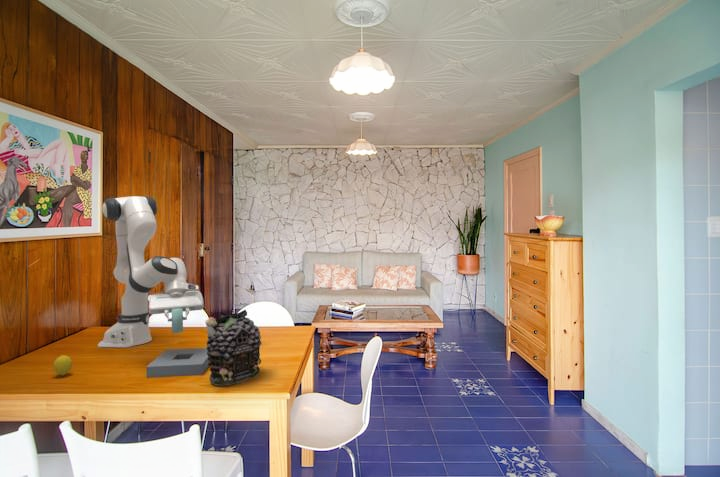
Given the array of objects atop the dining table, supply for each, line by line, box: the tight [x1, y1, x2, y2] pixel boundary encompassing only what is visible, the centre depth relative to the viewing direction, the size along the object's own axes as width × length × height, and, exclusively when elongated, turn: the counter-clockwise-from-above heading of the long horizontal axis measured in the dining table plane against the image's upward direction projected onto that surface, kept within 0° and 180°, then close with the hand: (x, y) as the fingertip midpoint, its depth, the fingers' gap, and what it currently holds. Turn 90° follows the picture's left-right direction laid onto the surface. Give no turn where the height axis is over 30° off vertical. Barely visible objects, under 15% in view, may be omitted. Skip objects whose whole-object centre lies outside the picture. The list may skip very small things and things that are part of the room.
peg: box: [171, 308, 184, 334], centre depth 152 cm, size 4×4×9 cm
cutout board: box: [146, 347, 210, 378], centre depth 154 cm, size 20×20×4 cm
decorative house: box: [205, 309, 263, 386], centre depth 142 cm, size 21×15×25 cm
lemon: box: [53, 354, 73, 377], centre depth 144 cm, size 6×6×8 cm
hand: (177, 319), depth 152 cm, fingers closed on peg, 4 cm apart
